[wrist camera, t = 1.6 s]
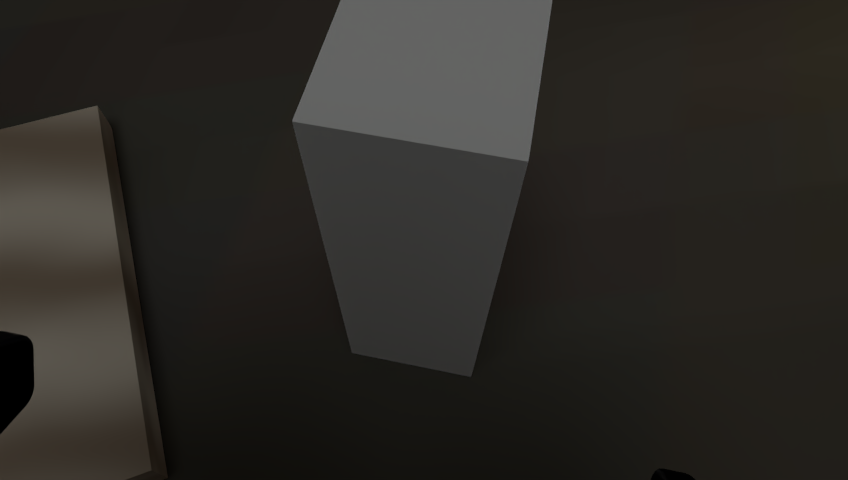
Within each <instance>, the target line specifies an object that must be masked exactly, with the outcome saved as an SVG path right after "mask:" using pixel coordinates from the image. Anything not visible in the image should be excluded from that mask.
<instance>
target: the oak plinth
mask: <svg viewBox="0 0 848 480" xmlns="http://www.w3.org/2000/svg"><path fill="white" fill-rule="evenodd" d="M0 331H7V332H11V333H16V334H21V335H25V336H27V337H28V338H30V339H31V341H32V343H33V348H34V391H33V394H32V397H31V399H30V401H29V402H28V404H27V405H26V406H25V408H24V409H23V410H22V411H21V412H20V413H19V414H18V415H17V417H16V418H15V419H14V420H13V421H12V422H11V423H10V424H9V425H8V427H7V428H6V429H5V430H4V431H3V432H2V433H1V434H0V480H164V479H167V478H168V475H167V469H166V462H165V456H164V450H163V444H162V437H161V431H160V425H159V419H158V412H157V406H156V400H155V394H154V387H153V381H152V375H151V369H150V362H149V356H148V350H147V344H146V337H145V331H144V325H143V319H142V312H141V306H140V300H139V294H138V287H137V281H136V275H135V269H134V262H133V256H132V250H131V244H130V237H129V231H128V225H127V219H126V212H125V206H124V200H123V194H122V188H121V181H120V175H119V169H118V163H117V156H116V150H115V144H114V138H113V131H112V127H111V126H110V124H109V123H108V121H107V120H106V118H105V117H104V115H103V114H102V112H101V110H100V109H99V107H98V106H94V107H90V108H86V109H82V110H78V111H74V112H70V113H66V114H62V115H58V116H53V117H49V118H45V119H41V120H37V121H33V122H29V123H25V124H21V125H17V126H13V127H9V128H5V129H1V130H0Z"/></svg>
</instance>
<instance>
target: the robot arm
mask: <svg viewBox="0 0 848 480" xmlns="http://www.w3.org/2000/svg"><path fill="white" fill-rule="evenodd" d="M33 391H34V348H33V343H32V341H31V339H30V338H28V337H27V336H25V335H21V334H16V333H11V332H7V331H0V434H1V433H2V432H3V431H4V430H5V429H6V428H7V427H8V425H9V424H10V423H11V422H12V421H13V420H14V419H15V418H16V417H17V415H18V414H19V413H20V412H21V411H22V410H23V409H24V408H25V406H26V405H27V404H28V402H29V401H30V399H31V397H32V394H33ZM651 480H695V479H694V478H693V477H691V476H690V475H688V474H686V473H682V472H677V471H672V470H667V469H657V470H656V471H655V472H654V474H653V476H652V478H651Z"/></svg>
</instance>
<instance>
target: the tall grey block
mask: <svg viewBox="0 0 848 480" xmlns="http://www.w3.org/2000/svg"><path fill="white" fill-rule="evenodd" d="M551 6H552V0H341V1H340V4H339V6H338V9H337V11H336V14H335V16H334V19H333V21H332V23H331V26H330V28H329V31H328V33H327V36H326V38H325V41H324V43H323V46H322V48H321V51H320V53H319V56H318V58H317V61H316V63H315V66H314V68H313V71H312V73H311V76H310V78H309V81H308V83H307V86H306V88H305V91H304V93H303V96H302V98H301V101H300V103H299V105H298V108H297V110H296V113H295V115H294V118H293V120H292V123H293V127H294V131H295V135H296V139H297V142H298V146H299V150H300V154H301V158H302V162H303V166H304V169H305V173H306V177H307V181H308V185H309V189H310V193H311V197H312V200H313V204H314V208H315V212H316V216H317V220H318V224H319V228H320V231H321V235H322V239H323V243H324V247H325V251H326V255H327V258H328V262H329V266H330V270H331V274H332V278H333V282H334V286H335V289H336V293H337V297H338V301H339V305H340V309H341V313H342V317H343V320H344V324H345V328H346V332H347V336H348V340H349V344H350V347H351V351H352V353H355V354H360V355H365V356H370V357H375V358H379V359H384V360H389V361H394V362H399V363H404V364H409V365H414V366H419V367H424V368H429V369H434V370H439V371H444V372H449V373H454V374H459V375H464V376H468V377H471V376H472V372H473V368H474V364H475V361H476V357H477V353H478V349H479V346H480V342H481V338H482V334H483V330H484V327H485V323H486V319H487V315H488V312H489V308H490V304H491V300H492V297H493V293H494V289H495V285H496V282H497V278H498V274H499V270H500V266H501V263H502V259H503V255H504V251H505V248H506V244H507V240H508V236H509V233H510V229H511V225H512V221H513V217H514V214H515V210H516V206H517V202H518V199H519V195H520V191H521V187H522V184H523V180H524V176H525V172H526V169H527V165H528V160H529V154H530V147H531V140H532V134H533V127H534V120H535V113H536V107H537V100H538V93H539V86H540V80H541V73H542V66H543V60H544V53H545V46H546V39H547V33H548V26H549V19H550V12H551Z"/></svg>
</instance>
